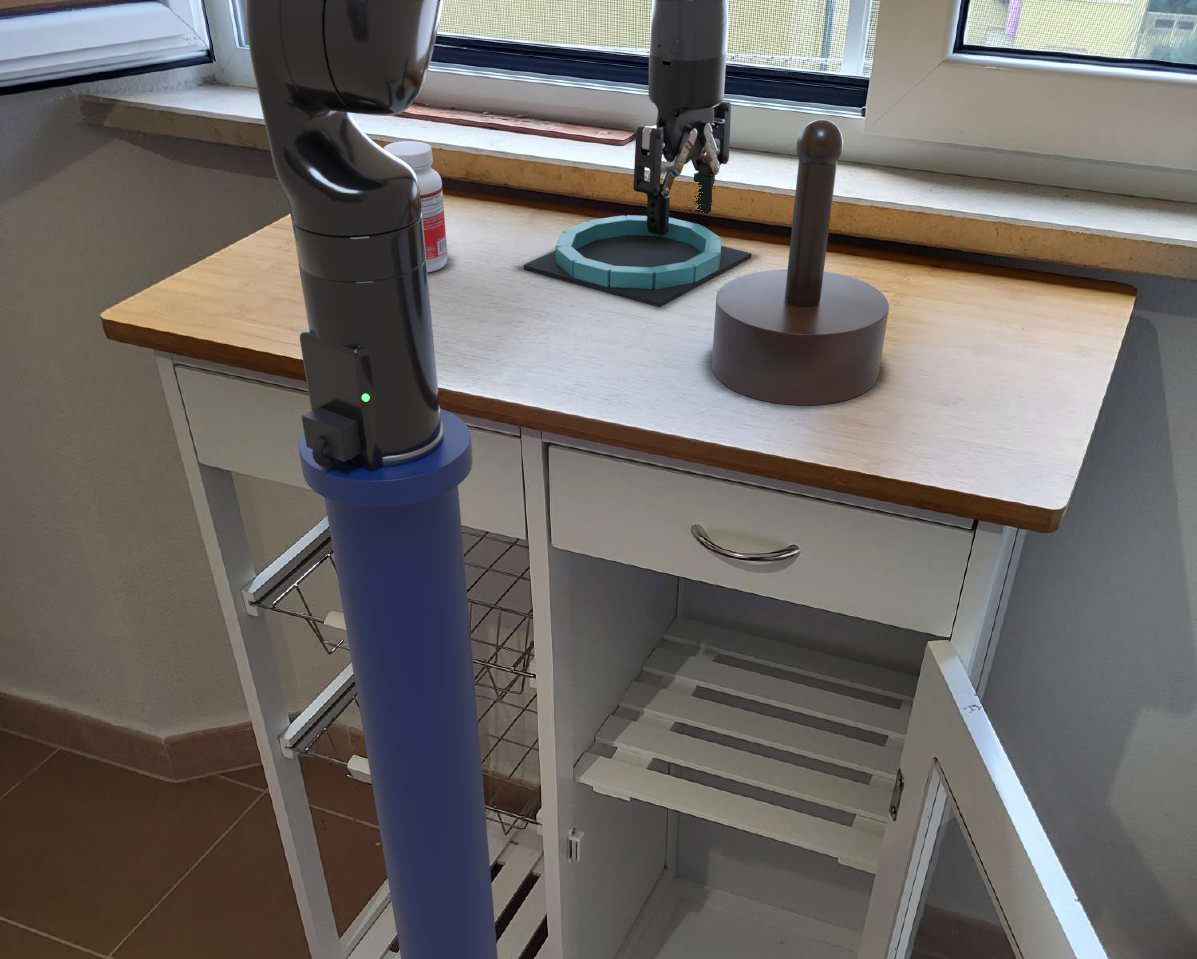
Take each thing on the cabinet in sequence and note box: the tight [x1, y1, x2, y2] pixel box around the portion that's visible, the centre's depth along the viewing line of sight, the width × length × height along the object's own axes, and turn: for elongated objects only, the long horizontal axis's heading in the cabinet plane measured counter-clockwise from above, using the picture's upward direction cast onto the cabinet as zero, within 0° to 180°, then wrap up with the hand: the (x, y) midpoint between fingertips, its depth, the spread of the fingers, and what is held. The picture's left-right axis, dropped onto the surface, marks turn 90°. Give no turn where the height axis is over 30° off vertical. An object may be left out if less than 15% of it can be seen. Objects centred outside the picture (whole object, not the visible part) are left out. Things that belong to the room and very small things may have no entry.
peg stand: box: [711, 118, 890, 406], centre depth 102 cm, size 15×15×20 cm
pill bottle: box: [383, 140, 448, 273], centre depth 123 cm, size 6×6×11 cm
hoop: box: [555, 214, 723, 289], centre depth 127 cm, size 17×17×2 cm
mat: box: [522, 235, 753, 308], centre depth 127 cm, size 17×17×1 cm
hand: (680, 222), depth 131 cm, fingers open, 8 cm apart
